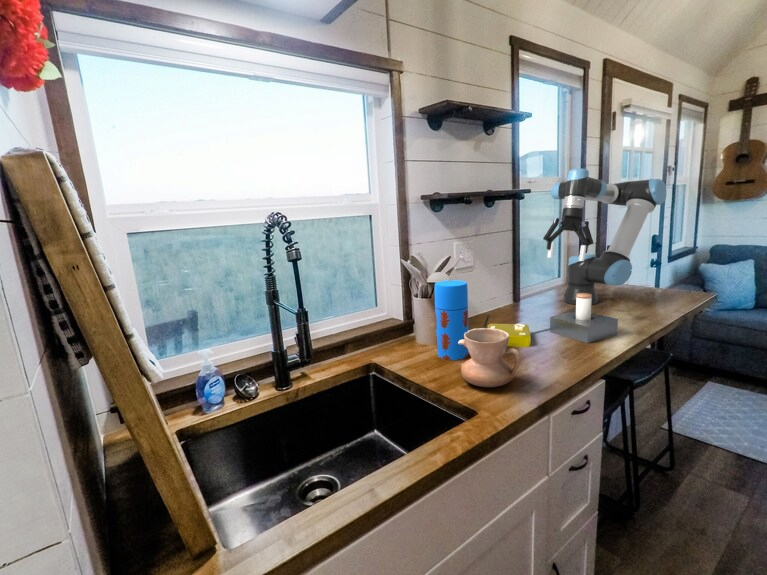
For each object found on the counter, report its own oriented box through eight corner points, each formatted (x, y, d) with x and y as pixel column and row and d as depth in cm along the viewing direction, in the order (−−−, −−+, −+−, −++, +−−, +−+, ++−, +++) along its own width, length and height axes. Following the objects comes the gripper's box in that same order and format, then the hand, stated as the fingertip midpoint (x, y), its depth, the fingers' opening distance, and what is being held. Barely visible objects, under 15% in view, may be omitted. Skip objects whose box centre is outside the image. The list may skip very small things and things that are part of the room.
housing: (578, 324, 154) (579, 310, 152) (617, 334, 139) (617, 318, 138) (549, 331, 147) (550, 316, 146) (587, 343, 133) (587, 326, 132)
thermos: (460, 362, 123) (458, 287, 119) (431, 356, 130) (428, 285, 125) (474, 351, 132) (472, 281, 127) (446, 346, 138) (444, 279, 134)
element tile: (488, 333, 151) (487, 322, 150) (528, 334, 147) (528, 323, 146) (486, 346, 137) (486, 334, 136) (531, 348, 133) (531, 335, 132)
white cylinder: (581, 330, 146) (582, 292, 144) (593, 333, 142) (594, 294, 139) (572, 332, 144) (573, 294, 141) (583, 336, 140) (585, 296, 137)
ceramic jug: (448, 384, 109) (446, 336, 106) (471, 366, 120) (470, 323, 117) (510, 400, 98) (510, 348, 95) (528, 379, 109) (529, 331, 106)
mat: (528, 322, 161) (528, 320, 161) (551, 329, 150) (551, 327, 150) (506, 327, 156) (506, 325, 156) (528, 334, 145) (528, 333, 145)
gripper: (547, 203, 152) (540, 256, 154) (608, 210, 153) (599, 262, 155) (539, 205, 159) (532, 256, 162) (597, 211, 160) (589, 261, 163)
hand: (565, 259), depth 158 cm, fingers open, 13 cm apart
